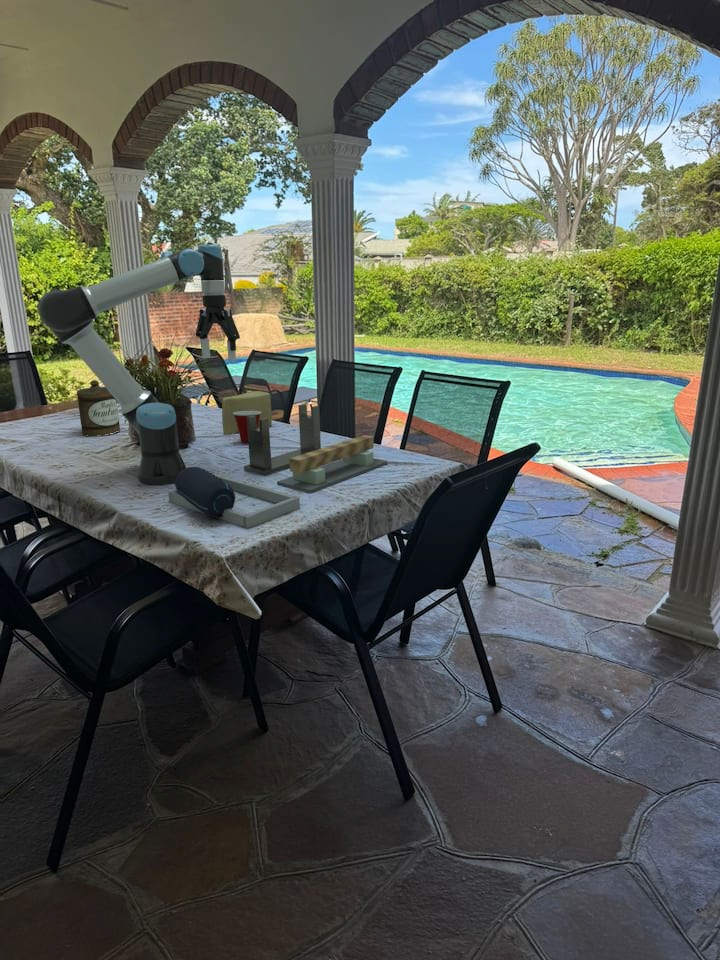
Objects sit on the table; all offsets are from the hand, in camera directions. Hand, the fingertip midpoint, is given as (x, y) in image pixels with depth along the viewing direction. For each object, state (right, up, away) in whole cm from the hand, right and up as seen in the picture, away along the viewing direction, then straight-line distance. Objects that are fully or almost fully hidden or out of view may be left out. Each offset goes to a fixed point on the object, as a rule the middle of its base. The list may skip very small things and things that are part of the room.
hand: (219, 359), depth 218 cm
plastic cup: (+5, -26, +32) cm, 42 cm away
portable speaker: (+5, -49, -39) cm, 63 cm away
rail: (+40, -34, -12) cm, 54 cm away
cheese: (0, -20, +52) cm, 56 cm away
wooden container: (-61, -21, +51) cm, 82 cm away
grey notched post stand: (+23, -35, +3) cm, 42 cm away
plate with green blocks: (+40, -39, -10) cm, 57 cm away
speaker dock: (+12, -48, -36) cm, 61 cm away
